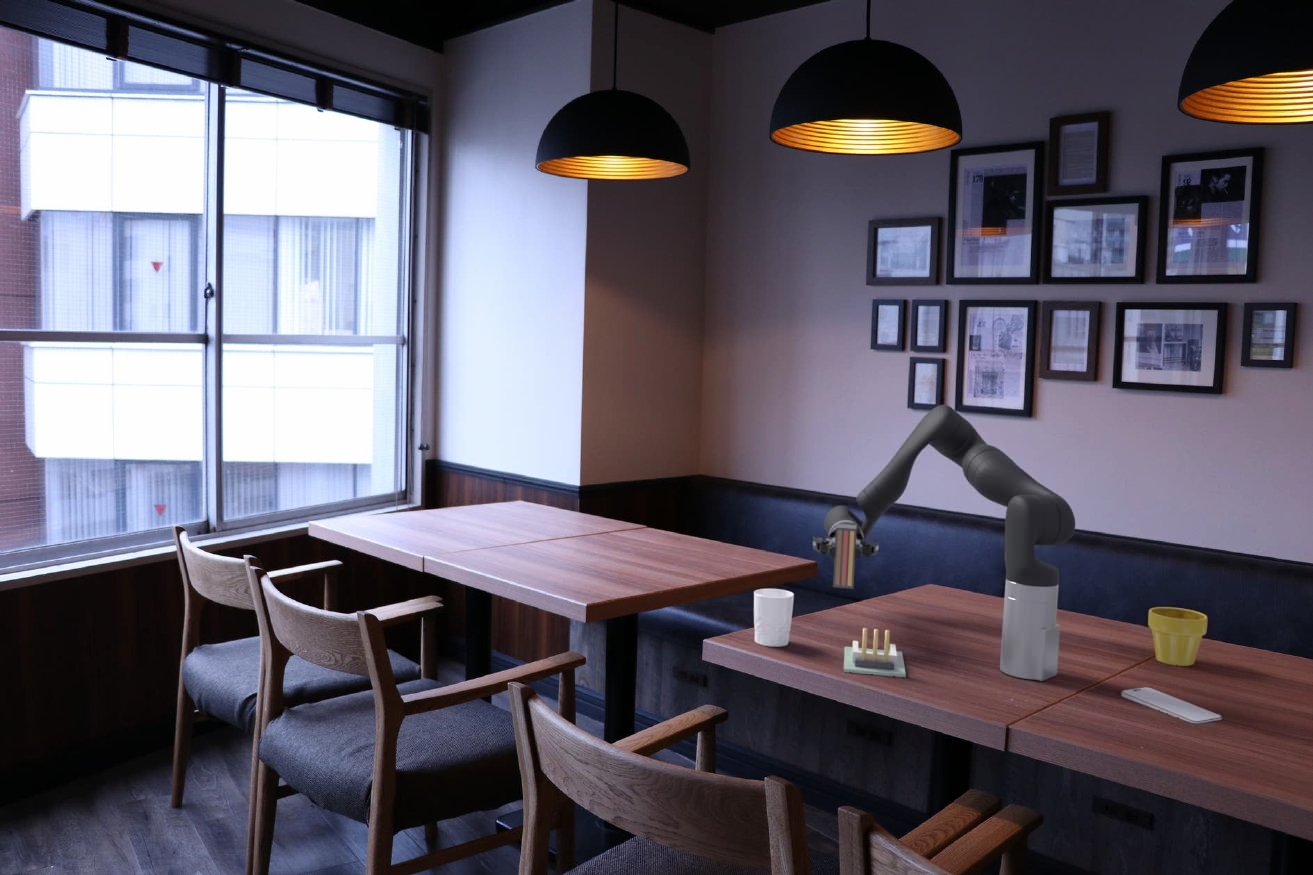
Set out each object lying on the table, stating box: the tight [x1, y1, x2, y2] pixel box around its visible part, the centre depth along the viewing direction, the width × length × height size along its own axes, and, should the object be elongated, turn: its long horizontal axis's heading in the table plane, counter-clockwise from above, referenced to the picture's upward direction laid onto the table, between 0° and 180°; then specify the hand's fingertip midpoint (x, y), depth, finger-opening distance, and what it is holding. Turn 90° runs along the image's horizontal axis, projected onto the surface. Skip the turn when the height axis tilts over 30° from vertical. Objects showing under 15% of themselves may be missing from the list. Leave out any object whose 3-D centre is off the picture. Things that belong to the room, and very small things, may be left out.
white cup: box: [753, 588, 795, 648], centre depth 206 cm, size 8×8×10 cm
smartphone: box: [1120, 686, 1223, 724], centre depth 176 cm, size 7×1×15 cm
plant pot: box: [1147, 606, 1209, 667], centre depth 204 cm, size 10×10×10 cm
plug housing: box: [832, 524, 857, 590], centre depth 208 cm, size 5×4×12 cm
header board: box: [843, 627, 907, 679], centre depth 195 cm, size 15×11×8 cm
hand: (845, 553), depth 205 cm, fingers closed on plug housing, 4 cm apart
